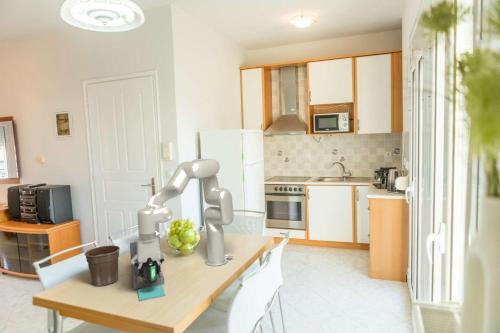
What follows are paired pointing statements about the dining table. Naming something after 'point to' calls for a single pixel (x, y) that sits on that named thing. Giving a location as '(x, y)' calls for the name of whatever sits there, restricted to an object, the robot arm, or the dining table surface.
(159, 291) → the mat
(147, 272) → the supplement bottle
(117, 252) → the plant pot
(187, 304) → the dining table surface
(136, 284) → the case
